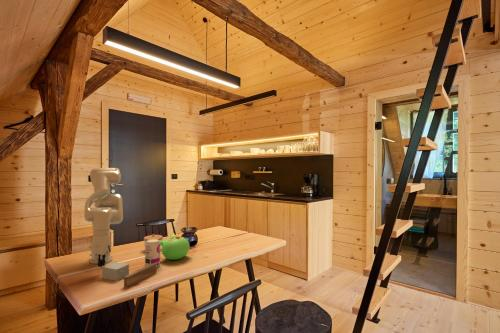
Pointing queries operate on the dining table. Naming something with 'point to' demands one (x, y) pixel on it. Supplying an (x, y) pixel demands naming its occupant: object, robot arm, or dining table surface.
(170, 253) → the green round body
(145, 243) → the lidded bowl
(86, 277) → the dining table surface
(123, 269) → the brick
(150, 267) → the fence
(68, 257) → the dining table surface
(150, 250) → the supplement can
